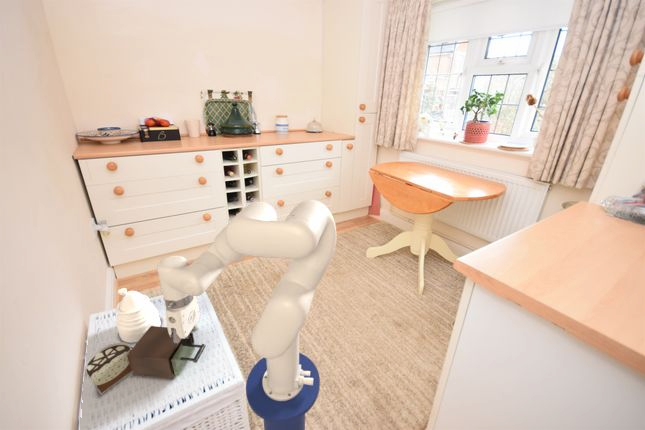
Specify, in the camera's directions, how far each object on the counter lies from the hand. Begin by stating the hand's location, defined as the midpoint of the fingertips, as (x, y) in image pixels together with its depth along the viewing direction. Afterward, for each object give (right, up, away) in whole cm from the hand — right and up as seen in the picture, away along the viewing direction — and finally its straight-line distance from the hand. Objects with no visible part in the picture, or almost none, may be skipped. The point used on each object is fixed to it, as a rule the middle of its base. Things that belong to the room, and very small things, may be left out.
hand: (188, 343), depth 90 cm
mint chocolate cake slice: (-22, -10, -1) cm, 24 cm away
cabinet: (-10, -7, +4) cm, 13 cm away
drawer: (-5, -7, +3) cm, 9 cm away
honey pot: (-25, -2, +16) cm, 30 cm away
